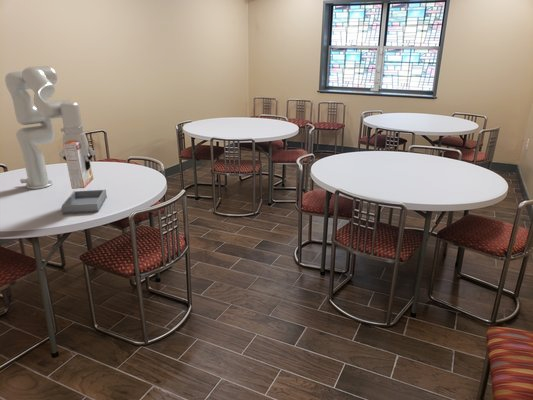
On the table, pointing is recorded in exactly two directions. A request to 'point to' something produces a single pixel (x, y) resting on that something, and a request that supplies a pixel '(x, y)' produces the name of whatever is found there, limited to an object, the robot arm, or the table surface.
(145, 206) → the table surface
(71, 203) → the tray
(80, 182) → the cracker box
